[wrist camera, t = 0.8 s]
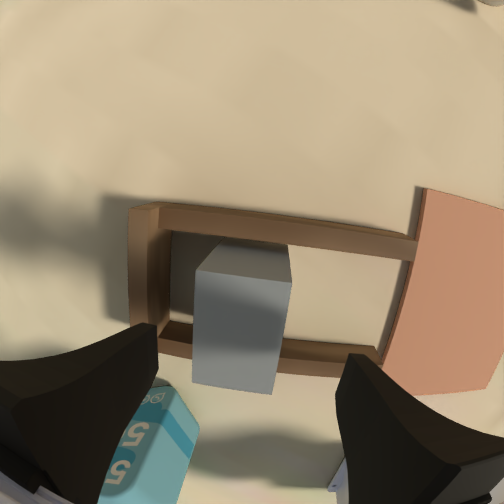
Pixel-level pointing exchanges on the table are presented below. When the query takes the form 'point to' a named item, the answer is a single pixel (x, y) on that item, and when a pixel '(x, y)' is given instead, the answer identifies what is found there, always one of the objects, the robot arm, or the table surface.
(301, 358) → the frame
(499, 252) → the mat
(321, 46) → the table surface
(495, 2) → the mug
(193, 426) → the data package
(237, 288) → the blank block
